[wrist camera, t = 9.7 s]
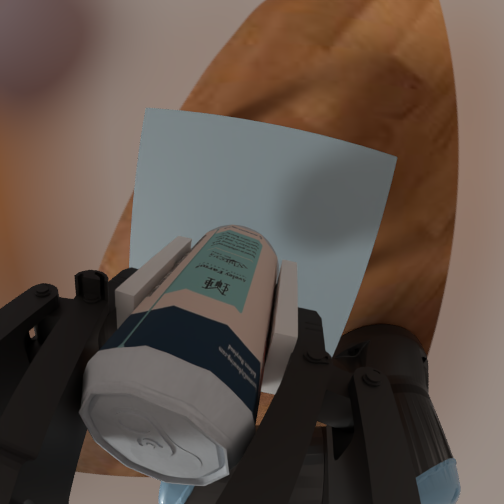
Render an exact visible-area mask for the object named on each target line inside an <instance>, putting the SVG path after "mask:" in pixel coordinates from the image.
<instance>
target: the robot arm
mask: <svg viewBox="0 0 504 504" xmlns="http://www.w3.org/2000/svg"><path fill="white" fill-rule="evenodd" d="M191 243H192V239H191V238H186V237H182V236H178V237H176V238H175V239H174V240H173V241H171V242H170V243H169V244H168V245H167V246H165V247H164V248H163V249H162V250H161V251H160V252H158V253H157V254H156V255H155V256H154V257H152V258H151V259H150V260H149V261H148V262H147V263H145V264H144V265H143V266H142V267H141V268H140V269H136V268H133V267H131V268H128V269H125V270H122V271H121V272H120V273H119V274H117V275H116V276H115V277H114V278H112V279H111V280H110V281H109V282H108V277H107V275H106V274H105V273H103V272H100V271H97V270H87V271H82V272H79V273H77V274H76V275H75V288H76V296H75V298H74V299H68V298H61V297H59V294H58V289H57V287H55V286H53V285H51V284H46V283H45V284H44V283H42V284H38V285H35V286H33V287H31V288H30V289H28V290H27V291H25V292H24V293H22V294H21V295H19V296H18V297H16V298H15V299H14V300H12V301H11V302H9V303H8V304H6V305H5V306H4V307H2V308H1V309H0V504H69V496H70V491H71V487H72V483H73V478H74V475H75V471H76V467H77V463H78V459H79V456H80V452H81V448H82V445H83V441H84V438H85V435H86V431H87V427H86V425H85V424H84V422H83V420H82V418H81V416H80V414H79V410H80V408H81V397H82V385H83V374H84V371H85V368H86V366H87V363H88V361H89V360H90V359H91V358H92V357H93V356H94V355H95V354H96V353H97V352H98V351H99V350H100V348H101V347H102V346H103V345H104V344H105V343H106V342H107V340H108V339H109V338H110V337H111V336H112V335H113V333H114V332H115V331H116V330H117V329H118V328H119V327H120V326H121V324H122V323H123V322H124V321H125V320H126V319H127V318H128V317H129V315H130V314H131V313H132V312H133V311H134V310H135V309H136V308H137V307H138V305H139V304H140V303H141V302H142V301H143V300H144V299H145V298H146V297H147V296H148V294H149V293H150V292H151V291H152V290H153V289H154V288H155V287H156V286H157V285H158V284H159V282H160V281H161V280H162V279H163V278H164V277H165V276H166V275H167V274H168V273H169V272H170V271H171V270H172V269H173V267H174V266H175V265H176V264H177V263H178V262H179V261H180V260H181V259H182V258H183V257H184V256H185V255H186V254H187V253H188V252H189V251H190V250H191ZM33 327H34V331H35V336H34V337H33V338H30V335H29V330H31V329H32V328H33ZM261 392H265V393H270V394H275V396H274V398H273V400H272V402H271V404H270V406H269V408H268V410H267V412H266V414H265V416H264V417H263V419H262V421H261V423H260V425H255V427H256V433H255V435H254V437H253V438H252V440H251V442H250V444H249V446H248V448H247V450H246V451H245V453H244V455H243V457H242V459H241V460H240V462H239V463H238V464H237V465H236V466H235V467H233V468H232V469H231V470H230V473H229V475H227V476H225V477H223V478H221V479H219V480H217V481H215V482H212V483H210V484H208V485H206V486H195V485H182V484H172V483H165V482H163V481H161V485H160V490H159V504H455V503H456V502H457V500H458V498H459V495H460V482H459V478H458V473H457V468H456V460H455V459H454V458H453V456H452V453H451V450H450V447H449V445H448V442H447V439H446V437H445V434H444V431H443V429H442V426H441V424H440V421H439V419H438V416H437V414H436V411H435V409H434V406H433V404H432V402H431V400H430V397H429V394H428V360H427V356H426V353H425V351H424V349H423V347H422V345H421V343H420V341H419V340H418V339H417V337H416V336H415V335H414V334H413V333H411V332H410V331H408V330H406V329H404V328H402V327H399V326H395V325H386V324H380V325H371V326H366V327H362V328H359V329H356V330H354V331H351V332H349V333H347V334H345V335H343V336H342V337H340V340H339V342H338V345H337V347H336V349H335V352H334V354H333V357H331V356H330V354H329V353H328V352H326V350H325V342H324V333H323V327H322V318H321V317H320V315H319V314H318V313H317V311H314V310H309V309H304V308H300V307H298V283H297V262H292V261H288V260H282V264H281V268H280V272H279V276H278V280H277V284H276V289H275V297H274V304H273V311H272V318H271V325H270V332H269V339H268V346H267V353H266V359H265V366H264V374H263V381H262V387H261ZM317 421H319V422H321V423H324V424H326V425H327V426H325V427H320V426H319V427H315V426H316V423H317Z"/></svg>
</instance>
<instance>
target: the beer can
mask: <svg viewBox="0 0 504 504" xmlns="http://www.w3.org/2000/svg"><path fill="white" fill-rule="evenodd" d="M278 275H279V263H278V258H277V255H276V253H275V250H274V249H273V247H272V246H271V244H270V243H269V241H268V240H267V239H266V238H265V237H264V236H263V235H261V234H260V233H258V232H257V231H255V230H253V229H250V228H248V227H245V226H241V225H225V226H220V227H217V228H215V229H212V230H210V231H209V232H207V233H206V234H205V235H204V236H203V237H202V238H201V239H200V240H199V241H198V242H197V243H196V244H195V245H194V246H193V247H192V248H191V250H190V251H189V252H188V253H187V254H186V255H185V256H184V257H183V258H182V259H181V260H180V261H179V262H178V263H177V264H176V265H175V266H174V267H173V269H172V270H171V271H170V272H169V273H168V274H167V275H166V276H165V277H164V278H163V279H162V280H161V281H160V282H159V284H158V285H157V286H156V287H155V288H154V289H153V290H152V291H151V292H150V293H149V294H148V296H147V297H146V298H145V299H144V300H143V301H142V302H141V303H140V304H139V305H138V307H137V308H136V309H135V310H134V311H133V312H132V313H131V314H130V315H129V317H128V318H127V319H126V320H125V321H124V322H123V323H122V324H121V326H120V327H119V328H118V329H117V330H116V331H115V332H114V333H113V335H112V336H111V337H110V338H109V339H108V340H107V342H106V343H105V344H104V345H103V346H102V347H101V348H100V350H99V351H98V352H97V353H96V354H95V355H94V356H93V357H92V358H91V359H90V360H89V361H88V363H87V366H86V368H85V371H84V374H83V385H82V397H81V408H80V410H79V414H80V416H81V418H82V420H83V422H84V424H85V425H86V427H87V429H88V431H89V433H90V434H91V436H92V438H93V440H94V441H95V442H96V443H97V444H99V445H100V446H101V447H102V448H103V449H105V450H106V451H107V452H108V453H110V454H111V455H112V456H113V457H115V458H116V459H117V460H118V461H120V462H121V463H122V464H124V465H125V466H126V467H129V468H131V469H133V470H135V471H138V472H140V473H142V474H145V475H147V476H150V477H152V478H155V479H157V480H160V481H163V482H165V483H172V484H182V485H195V486H206V485H208V484H210V483H212V482H215V481H217V480H219V479H221V478H223V477H225V476H227V475H229V473H230V470H231V469H232V468H233V467H235V466H236V465H237V464H238V463H239V462H240V460H241V459H242V457H243V455H244V453H245V451H246V450H247V448H248V446H249V444H250V442H251V440H252V438H253V437H254V435H255V433H256V427H255V424H256V418H257V412H258V406H259V400H260V394H261V387H262V381H263V374H264V366H265V359H266V353H267V346H268V339H269V332H270V325H271V318H272V311H273V304H274V297H275V289H276V283H277V279H278Z"/></svg>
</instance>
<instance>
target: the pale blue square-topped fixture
mask: <svg viewBox="0 0 504 504" xmlns="http://www.w3.org/2000/svg"><path fill="white" fill-rule="evenodd" d="M396 161H397V157H396V156H393V155H390V154H387V153H383V152H380V151H377V150H374V149H371V148H367V147H364V146H360V145H357V144H353V143H350V142H346V141H343V140H339V139H335V138H331V137H327V136H323V135H319V134H315V133H311V132H307V131H302V130H298V129H293V128H288V127H284V126H279V125H274V124H269V123H263V122H258V121H252V120H246V119H240V118H234V117H228V116H221V115H214V114H206V113H198V112H189V111H180V110H169V109H157V108H146V110H145V116H144V122H143V128H142V134H141V140H140V147H139V155H138V163H137V171H136V180H135V188H134V199H133V210H132V223H131V240H130V263H129V268H131V267H133V268H136V269H140V268H141V267H142V266H143V265H144V264H145V263H147V262H148V261H149V260H150V259H151V258H152V257H154V256H155V255H156V254H157V253H158V252H160V251H161V250H162V249H163V248H164V247H165V246H167V245H168V244H169V243H170V242H171V241H173V240H174V239H175V238H176V237H178V236H182V237H186V238H191V239H192V243H191V248H192V247H193V246H194V245H195V244H196V243H197V242H198V241H199V240H200V239H201V238H202V237H203V236H204V235H205V234H206V233H207V232H209V231H210V230H212V229H215V228H217V227H220V226H225V225H241V226H245V227H248V228H250V229H253V230H255V231H257V232H258V233H260V234H261V235H263V236H264V237H265V238H266V239H267V240H268V241H269V243H270V244H271V246H272V247H273V249H274V250H275V253H276V255H277V258H278V263H279V272H280V268H281V264H282V260H288V261H292V262H297V283H298V307H300V308H304V309H309V310H314V311H317V313H318V314H319V315H320V317H321V318H322V327H323V333H324V342H325V350H326V352H328V353H329V354H330V356H331V357H333V354H334V352H335V349H336V347H337V345H338V342H339V340H340V337H341V335H342V333H343V330H344V328H345V325H346V322H347V320H348V317H349V315H350V312H351V309H352V307H353V304H354V301H355V299H356V296H357V293H358V290H359V288H360V285H361V282H362V279H363V276H364V273H365V270H366V267H367V264H368V261H369V258H370V255H371V252H372V249H373V246H374V243H375V239H376V236H377V233H378V229H379V226H380V223H381V219H382V216H383V212H384V208H385V205H386V201H387V197H388V194H389V190H390V186H391V182H392V178H393V174H394V170H395V165H396ZM278 276H279V275H278ZM277 280H278V279H277ZM276 284H277V283H276Z"/></svg>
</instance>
